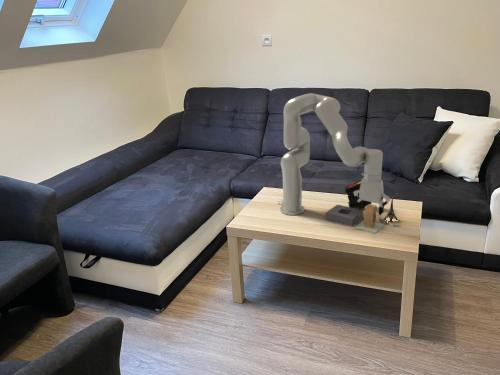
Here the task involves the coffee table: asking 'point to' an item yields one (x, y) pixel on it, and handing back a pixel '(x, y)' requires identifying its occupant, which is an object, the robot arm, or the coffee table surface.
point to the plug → (370, 216)
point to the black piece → (351, 196)
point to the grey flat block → (344, 215)
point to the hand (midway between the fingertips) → (370, 211)
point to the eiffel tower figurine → (390, 215)
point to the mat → (373, 230)
